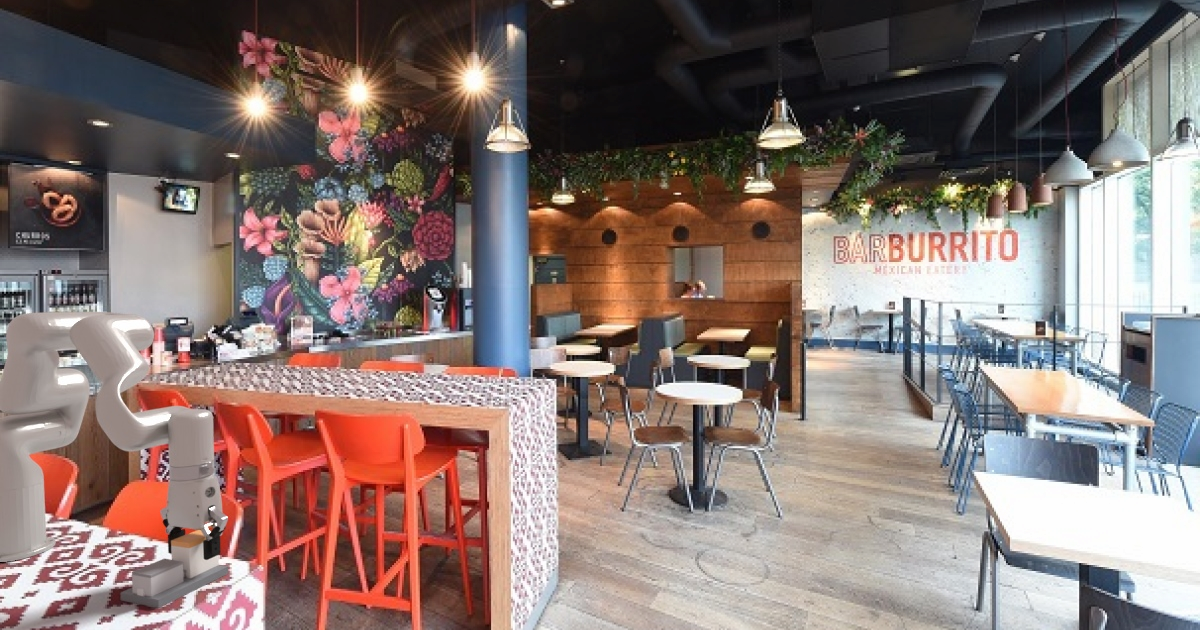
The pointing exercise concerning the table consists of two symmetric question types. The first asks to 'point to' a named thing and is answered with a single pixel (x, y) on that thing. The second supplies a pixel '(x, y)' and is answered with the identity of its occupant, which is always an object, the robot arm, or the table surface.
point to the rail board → (176, 589)
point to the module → (192, 553)
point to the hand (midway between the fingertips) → (194, 553)
